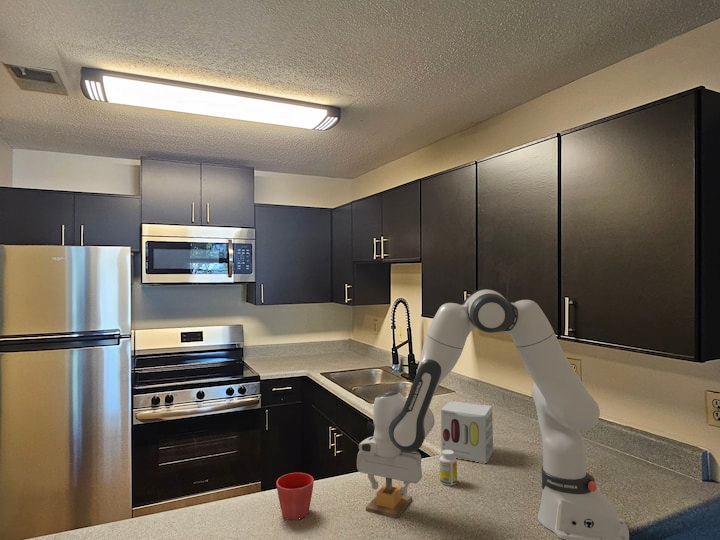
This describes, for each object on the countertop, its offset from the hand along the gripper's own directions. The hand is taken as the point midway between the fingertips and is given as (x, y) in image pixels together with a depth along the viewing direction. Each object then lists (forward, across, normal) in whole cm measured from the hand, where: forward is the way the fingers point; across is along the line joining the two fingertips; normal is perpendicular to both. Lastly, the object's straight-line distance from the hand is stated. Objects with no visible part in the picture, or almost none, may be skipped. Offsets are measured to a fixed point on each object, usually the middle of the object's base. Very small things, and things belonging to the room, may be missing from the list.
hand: (389, 491), depth 139 cm
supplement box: (+4, -12, -48) cm, 50 cm away
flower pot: (+4, +23, +16) cm, 28 cm away
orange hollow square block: (+3, 0, 0) cm, 3 cm away
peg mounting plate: (+4, 0, 0) cm, 4 cm away
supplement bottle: (+4, -12, -22) cm, 25 cm away
